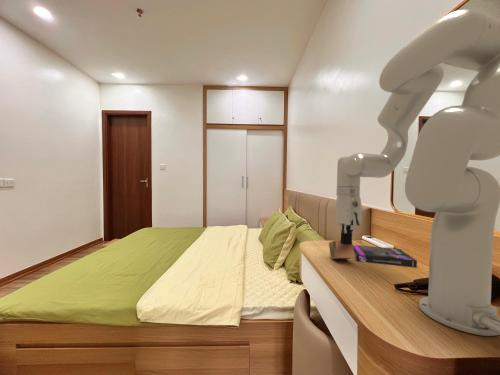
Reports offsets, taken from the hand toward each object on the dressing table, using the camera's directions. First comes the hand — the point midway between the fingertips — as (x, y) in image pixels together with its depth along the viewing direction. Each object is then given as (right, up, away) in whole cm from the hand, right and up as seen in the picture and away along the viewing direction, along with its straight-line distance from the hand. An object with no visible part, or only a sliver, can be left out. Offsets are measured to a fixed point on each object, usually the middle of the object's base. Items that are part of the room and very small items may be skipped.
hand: (346, 243), depth 78 cm
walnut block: (0, -2, 0) cm, 2 cm away
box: (+16, -8, +7) cm, 19 cm away
